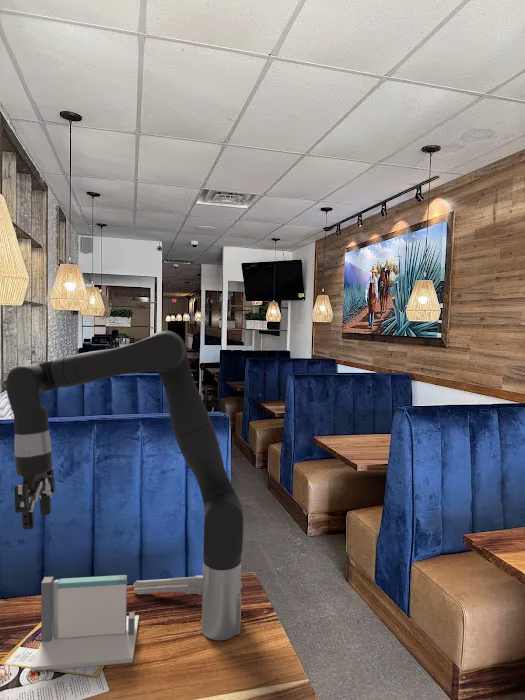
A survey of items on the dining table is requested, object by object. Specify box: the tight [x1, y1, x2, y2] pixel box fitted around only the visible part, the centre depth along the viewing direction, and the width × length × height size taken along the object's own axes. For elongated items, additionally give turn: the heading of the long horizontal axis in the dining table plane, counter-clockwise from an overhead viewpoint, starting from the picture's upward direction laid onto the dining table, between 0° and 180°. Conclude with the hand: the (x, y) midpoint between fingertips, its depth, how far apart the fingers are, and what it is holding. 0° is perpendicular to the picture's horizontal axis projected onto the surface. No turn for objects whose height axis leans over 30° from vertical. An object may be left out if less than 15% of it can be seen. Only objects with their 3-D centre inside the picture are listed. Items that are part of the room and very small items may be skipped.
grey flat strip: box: [133, 574, 243, 596], centre depth 127 cm, size 2×30×8 cm, turn 82°
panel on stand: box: [29, 576, 140, 672], centre depth 108 cm, size 21×15×15 cm
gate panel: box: [53, 574, 128, 638], centre depth 110 cm, size 16×2×13 cm, turn 100°
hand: (37, 521), depth 108 cm, fingers open, 8 cm apart
